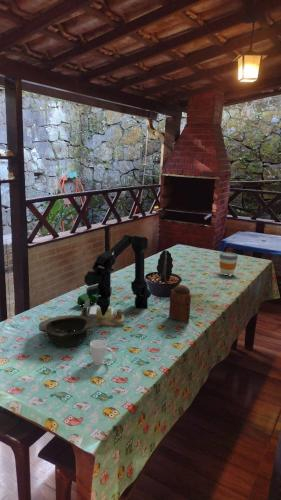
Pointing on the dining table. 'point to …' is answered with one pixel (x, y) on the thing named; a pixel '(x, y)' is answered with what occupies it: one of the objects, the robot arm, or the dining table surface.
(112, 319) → the plane body
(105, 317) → the olive wooden block
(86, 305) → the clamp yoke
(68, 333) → the stone bowl
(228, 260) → the reusable coffee cup
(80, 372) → the dining table surface
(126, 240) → the robot arm
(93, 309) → the mat
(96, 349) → the cup
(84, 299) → the green lumpy block
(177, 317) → the wooden figurine
